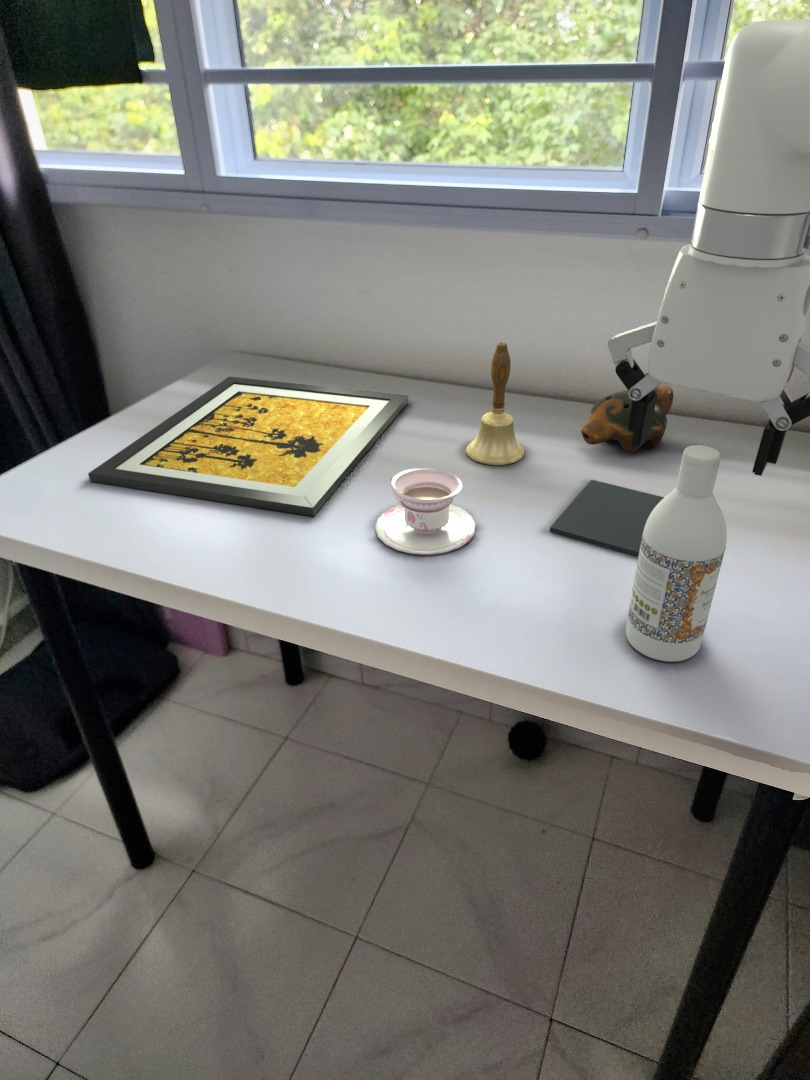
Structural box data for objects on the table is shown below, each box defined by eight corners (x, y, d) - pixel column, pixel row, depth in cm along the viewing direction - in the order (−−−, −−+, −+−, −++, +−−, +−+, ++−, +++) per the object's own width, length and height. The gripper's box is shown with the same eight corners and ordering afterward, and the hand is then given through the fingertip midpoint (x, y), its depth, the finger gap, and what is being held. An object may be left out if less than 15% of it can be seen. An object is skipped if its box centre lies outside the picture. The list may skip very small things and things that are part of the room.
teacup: (493, 520, 91) (495, 475, 88) (442, 568, 83) (443, 520, 80) (410, 495, 97) (410, 452, 94) (355, 537, 89) (352, 491, 85)
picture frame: (228, 376, 131) (408, 395, 123) (229, 382, 132) (408, 401, 123) (87, 473, 101) (313, 507, 92) (89, 481, 102) (314, 516, 93)
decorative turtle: (687, 442, 109) (697, 391, 104) (610, 475, 103) (617, 423, 98) (638, 416, 116) (645, 368, 111) (562, 446, 110) (567, 396, 105)
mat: (699, 510, 93) (700, 506, 92) (667, 565, 83) (668, 560, 82) (590, 483, 99) (591, 479, 99) (549, 531, 89) (549, 527, 89)
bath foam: (676, 675, 68) (722, 480, 57) (610, 640, 72) (642, 452, 61) (713, 640, 72) (763, 451, 61) (648, 608, 76) (685, 427, 65)
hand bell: (536, 451, 107) (545, 341, 99) (500, 471, 102) (507, 357, 94) (490, 435, 112) (495, 329, 104) (454, 453, 107) (456, 344, 99)
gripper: (893, 237, 51) (819, 461, 60) (642, 214, 59) (611, 416, 68) (885, 259, 46) (805, 501, 55) (610, 231, 54) (581, 447, 63)
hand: (698, 454), depth 62 cm, fingers open, 9 cm apart
